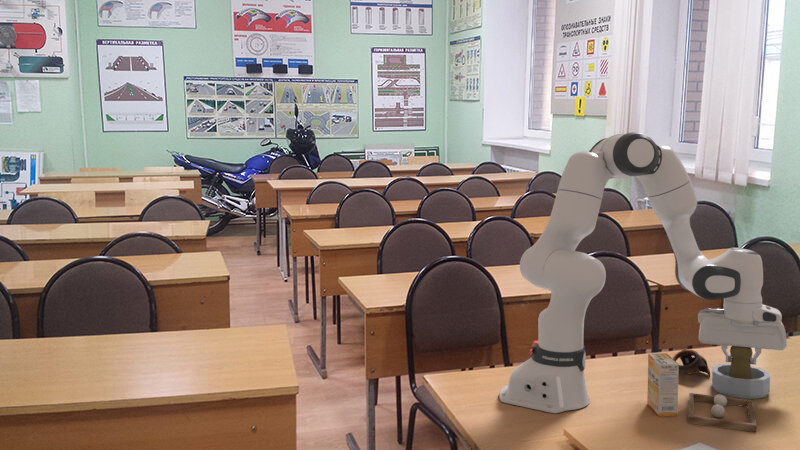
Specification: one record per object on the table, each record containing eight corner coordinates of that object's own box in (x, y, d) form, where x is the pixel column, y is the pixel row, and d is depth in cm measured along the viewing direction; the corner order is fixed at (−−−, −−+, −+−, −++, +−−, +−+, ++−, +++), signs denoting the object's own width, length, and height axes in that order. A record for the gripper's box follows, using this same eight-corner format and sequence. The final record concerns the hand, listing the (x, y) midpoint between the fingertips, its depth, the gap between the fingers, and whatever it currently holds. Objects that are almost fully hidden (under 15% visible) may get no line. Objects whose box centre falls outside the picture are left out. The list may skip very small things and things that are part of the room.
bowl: (712, 395, 172) (713, 377, 171) (711, 378, 184) (712, 361, 183) (771, 402, 166) (772, 383, 166) (766, 384, 178) (767, 366, 178)
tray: (688, 422, 155) (688, 416, 155) (689, 398, 170) (689, 392, 170) (756, 431, 150) (756, 425, 150) (751, 405, 164) (751, 400, 164)
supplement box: (646, 403, 168) (647, 352, 166) (665, 403, 167) (666, 352, 166) (657, 417, 159) (658, 363, 158) (678, 416, 159) (679, 363, 158)
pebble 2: (711, 402, 158) (710, 404, 160) (711, 415, 157) (710, 416, 160) (725, 404, 157) (724, 405, 159) (725, 417, 156) (724, 418, 158)
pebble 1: (713, 408, 164) (713, 396, 163) (713, 403, 166) (713, 392, 166) (727, 409, 162) (727, 397, 162) (726, 405, 165) (727, 393, 165)
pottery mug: (718, 382, 182) (708, 359, 179) (685, 396, 184) (674, 374, 181) (701, 358, 193) (691, 336, 191) (670, 371, 195) (659, 349, 192)
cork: (740, 391, 171) (742, 350, 170) (721, 384, 177) (723, 343, 176) (758, 388, 173) (760, 346, 172) (739, 380, 179) (740, 340, 178)
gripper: (698, 310, 174) (696, 362, 176) (788, 316, 166) (786, 370, 167) (698, 304, 180) (696, 355, 181) (785, 310, 171) (783, 363, 173)
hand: (740, 362), depth 174 cm, fingers closed on cork, 4 cm apart
